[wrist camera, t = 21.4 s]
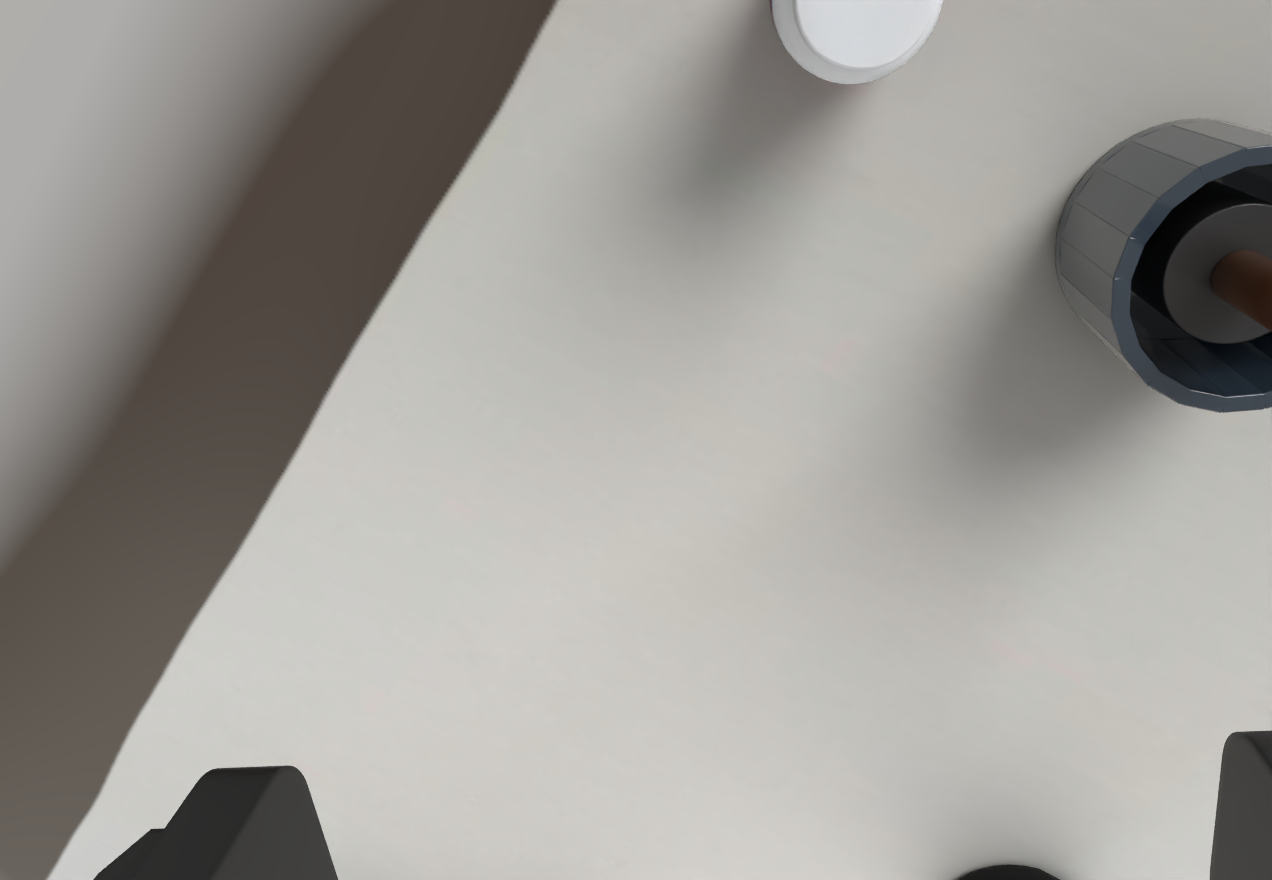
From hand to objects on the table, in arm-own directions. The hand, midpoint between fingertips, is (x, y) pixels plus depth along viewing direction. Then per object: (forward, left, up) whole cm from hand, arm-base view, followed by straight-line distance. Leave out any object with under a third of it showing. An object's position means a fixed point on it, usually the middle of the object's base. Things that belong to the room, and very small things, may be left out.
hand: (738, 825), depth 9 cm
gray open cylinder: (+4, +16, -34) cm, 38 cm away
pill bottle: (-6, +4, -34) cm, 35 cm away
